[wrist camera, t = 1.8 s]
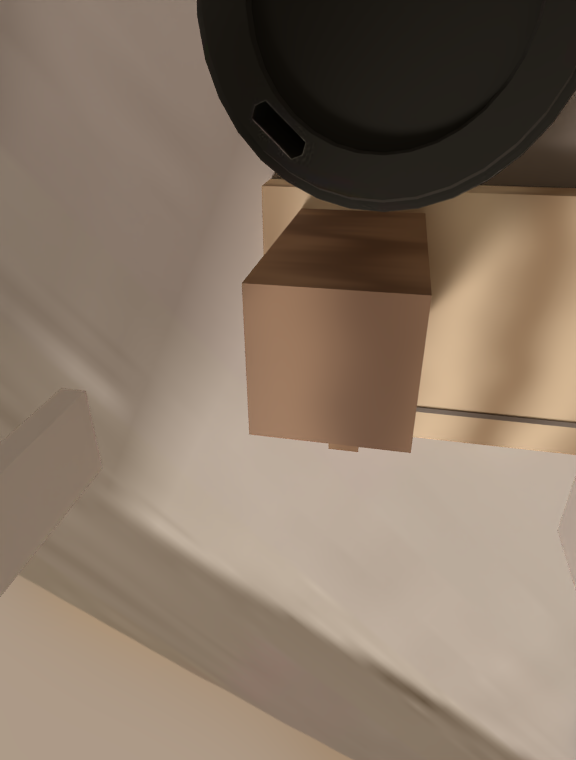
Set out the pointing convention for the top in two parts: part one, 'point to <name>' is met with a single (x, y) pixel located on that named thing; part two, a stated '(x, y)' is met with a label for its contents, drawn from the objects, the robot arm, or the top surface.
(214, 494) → the top surface
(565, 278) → the board
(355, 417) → the brown box
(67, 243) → the top surface
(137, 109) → the top surface
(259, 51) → the coffee cup
